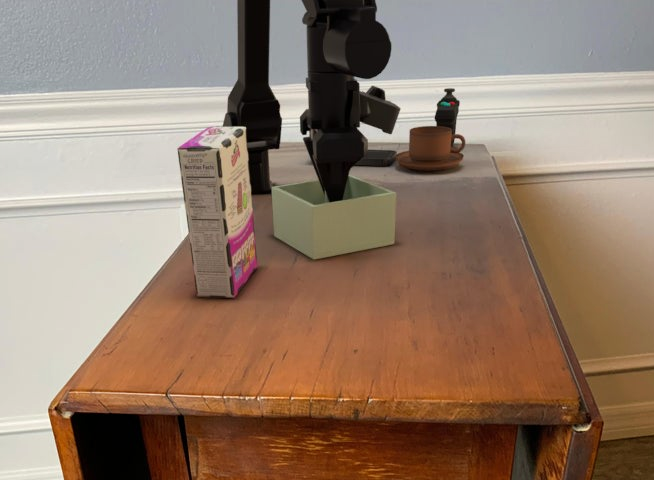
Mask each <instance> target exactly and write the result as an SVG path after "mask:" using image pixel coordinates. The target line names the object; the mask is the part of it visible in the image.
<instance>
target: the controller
mask: <svg viewBox="0 0 654 480" xmlns="http://www.w3.org/2000/svg"><path fill="white" fill-rule="evenodd" d="M455 91H456V89H455V88H451V87H448V88H444V89H443V92H444V93H446V94H445V95H444V96H443V97H442V98H441V99H440V100H439V101H438V102H437V103H436V111H435V115H434V121H435V122H436V124H435V126H442V127H448V128H451V129H452V135H454V134H456V132H457V131H456V129H457V119H458V114H459V111H460V109H459V108H460V106H461V105H460V104H461V103H460V102H461V101H460V100H459V99H458V98H457V97H456V96H455V95H454V94H453V93H455ZM455 140H456V138H455V139H453V140H451V147H452V148H453V147H454V146H455Z"/></svg>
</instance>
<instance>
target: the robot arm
mask: <svg viewBox="0 0 654 480" xmlns="http://www.w3.org/2000/svg"><path fill="white" fill-rule="evenodd" d="M301 2H302V4H303V6H304V9H305V11H306V12H304V14H303V16H302V19H301V23H302V24H303V25H304V26H305V25H306V62H307V77H305V88H306V89H307V100H308V102H307V103H308V108H306V109H305V110H304V111H303V112H302V113H301V115H300V116H299V132H300V133H301V135H302V136H303V137H302V140H303V143H304V146H305V148H306V151H307V153H308V156H309V159H310V161H312V162H311V164H312V167H313V169H314V172H315V174H316V177H317V180H319V182H320V185H321V188H322V190H323V193H324V195H325V192H326V195H327V197H328V200H329V203H330V202H336V201H342V200H343V196H344V192H345V188H346V183H347V179H348V175H350V171H351V169H352V168H353V167H354V166H356V165H355V164H356V163H357V162H358V161H361V160H362V158H364V157H367V156H368V150H369V148H368V147H369V139H368V138H367V137H366V136H365V135H364V134H363V132H361V130H360V129H359V128H361V124H364V125H367V126H369V127H372V128H375V129H377V130H381V131H382V133H384V134H387V135H392V134H393V132H394V130H395V127H396V124H397V121H398V118H399V115H400V112H401V109H402V108H401V107H400V106H398V105H397V104H395V103H394V102H392V101H391V100H387V99H386V92H385V90H384V89H383V88H380V87H378V86H375V85H371V86H369V87H370V88H368V90H367V91H363V90H362V91H361V90H360V88H361V87H360V82H359V81H358V80H357V79H356V78H359V79H363V80H370V79H374V78H377V77H378V76H379V75H380V74H381V73H382V72H384V70H385V69H386V68H387V66H388V64H389V62H390V59H391V56H392V42H391V38H390V35H389V32H388V31H387V29H386V27H385V26H384V25H383V24H382V23H381V22H379V21H378V20H376V19H377V12H378V6H377V1H376V0H301ZM236 4H237V5H236V7H237V9H236V11H237V12H236V13H237V19H236V21H237V81H236V82H235V83H234V85H233V87H232V89H231V90H230V93H229V94H228V96H227V104H226V105H227V107H226V109H227V110H226V112H225V115H224V119H223V123H222V126H230V127H233V126H237V127H246V136H247V148H248V159H249V172H250V183H251V194H261V193H272V187H274V185H273V183H272V180H271V175H270V173H271V172H270V157H269V150H270V151H271V150H280V148H281V147H280V145H281V138H282V128H283V127H282V126H283V117H282V115H281V104H280V101H279V99H278V98H277V97H276V96H275V94H274V92H273V90H272V88H271V86H270V42H271V41H270V39H271V38H270V37H271V35H270V33H271V25H270V24H271V0H237V3H236ZM307 133H308V134H307ZM307 135H308V136H307Z"/></svg>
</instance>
